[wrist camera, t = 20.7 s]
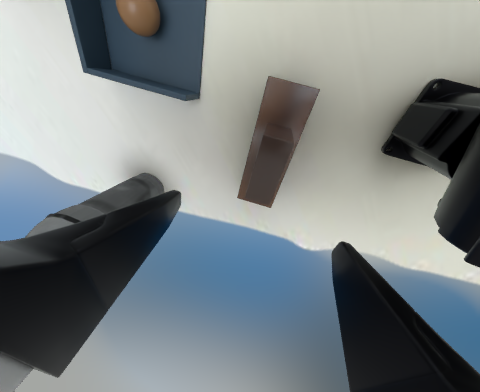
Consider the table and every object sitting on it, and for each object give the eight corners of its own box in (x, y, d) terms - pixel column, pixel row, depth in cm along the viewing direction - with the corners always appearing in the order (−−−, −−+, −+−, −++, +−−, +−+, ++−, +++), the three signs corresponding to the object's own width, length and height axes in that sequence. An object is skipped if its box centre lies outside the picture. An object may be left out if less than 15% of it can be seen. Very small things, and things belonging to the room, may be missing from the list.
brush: (315, 88, 16) (333, 92, 11) (271, 197, 24) (268, 233, 18) (270, 76, 16) (263, 73, 11) (241, 188, 24) (228, 221, 18)
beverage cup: (158, 211, 30) (8, 367, 14) (121, 182, 28) (-107, 323, 12) (180, 190, 26) (13, 368, 10) (140, 154, 24) (-153, 304, 8)
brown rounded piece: (132, -14, 15) (167, -5, 15) (137, 35, 17) (168, 43, 16) (99, -35, 12) (141, -24, 12) (109, 26, 14) (146, 36, 14)
